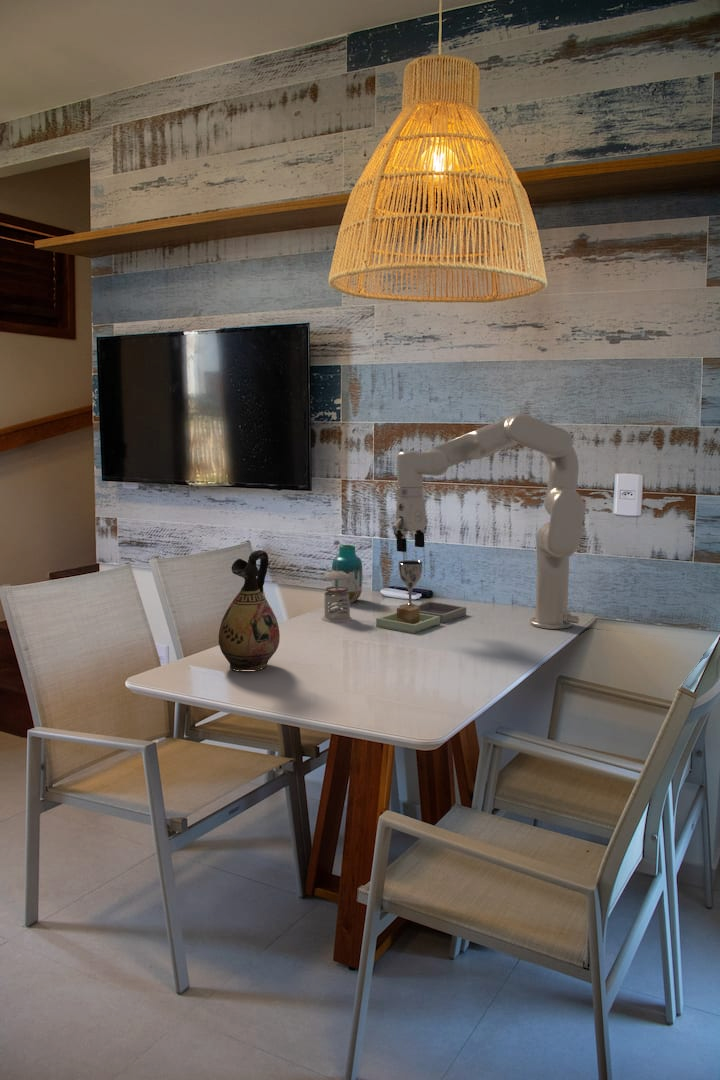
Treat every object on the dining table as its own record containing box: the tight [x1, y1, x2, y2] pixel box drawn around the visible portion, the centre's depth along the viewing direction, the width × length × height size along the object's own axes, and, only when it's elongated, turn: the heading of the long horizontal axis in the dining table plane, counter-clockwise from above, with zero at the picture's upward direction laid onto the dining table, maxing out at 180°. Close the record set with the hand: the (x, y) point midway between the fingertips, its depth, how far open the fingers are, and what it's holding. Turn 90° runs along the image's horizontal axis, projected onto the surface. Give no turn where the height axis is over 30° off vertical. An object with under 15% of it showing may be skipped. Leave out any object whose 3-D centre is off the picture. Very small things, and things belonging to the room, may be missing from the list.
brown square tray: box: [414, 601, 467, 624], centre depth 278 cm, size 14×14×2 cm
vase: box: [331, 544, 364, 602], centre depth 298 cm, size 11×11×19 cm
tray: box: [375, 611, 441, 635], centre depth 265 cm, size 14×14×2 cm
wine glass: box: [398, 559, 423, 608], centre depth 290 cm, size 8×8×15 cm
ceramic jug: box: [217, 549, 281, 671], centre depth 221 cm, size 17×15×30 cm
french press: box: [321, 540, 358, 624], centre depth 272 cm, size 10×12×25 cm
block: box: [396, 605, 420, 624], centre depth 265 cm, size 5×5×5 cm
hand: (410, 549), depth 262 cm, fingers open, 9 cm apart
